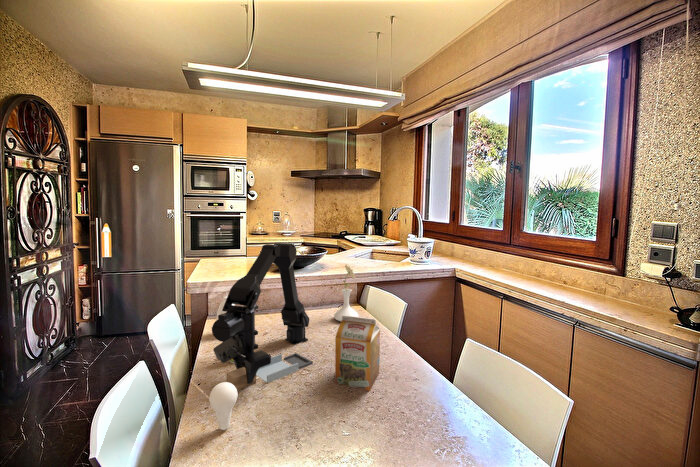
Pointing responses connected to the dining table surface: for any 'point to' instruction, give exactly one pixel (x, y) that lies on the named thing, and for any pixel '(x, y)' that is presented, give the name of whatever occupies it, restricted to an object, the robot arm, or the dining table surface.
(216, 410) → the lightbulb
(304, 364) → the dark gray shallow tray
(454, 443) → the dining table surface
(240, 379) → the block
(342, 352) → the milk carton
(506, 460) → the dining table surface
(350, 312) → the flower in vase
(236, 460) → the dining table surface
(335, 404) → the dining table surface
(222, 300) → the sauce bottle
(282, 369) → the grey bracket
